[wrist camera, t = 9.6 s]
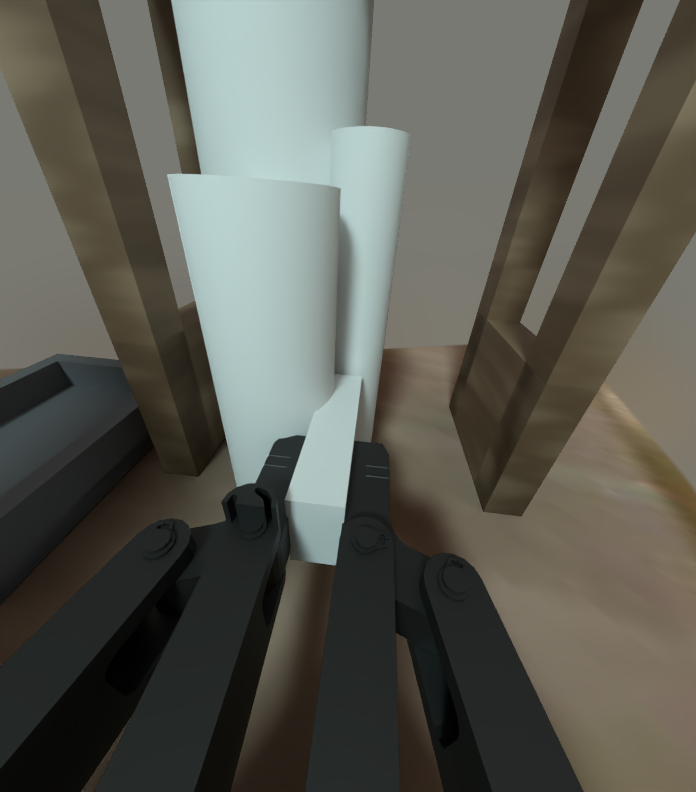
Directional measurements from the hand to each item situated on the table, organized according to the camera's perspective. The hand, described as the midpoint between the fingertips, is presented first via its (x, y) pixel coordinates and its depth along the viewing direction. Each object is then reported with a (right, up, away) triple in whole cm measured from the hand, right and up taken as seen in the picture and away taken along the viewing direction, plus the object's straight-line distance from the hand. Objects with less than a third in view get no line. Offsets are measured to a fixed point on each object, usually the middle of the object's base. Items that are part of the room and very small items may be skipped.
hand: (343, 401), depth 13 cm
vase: (-2, -4, +5) cm, 7 cm away
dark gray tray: (-17, -3, +4) cm, 18 cm away
